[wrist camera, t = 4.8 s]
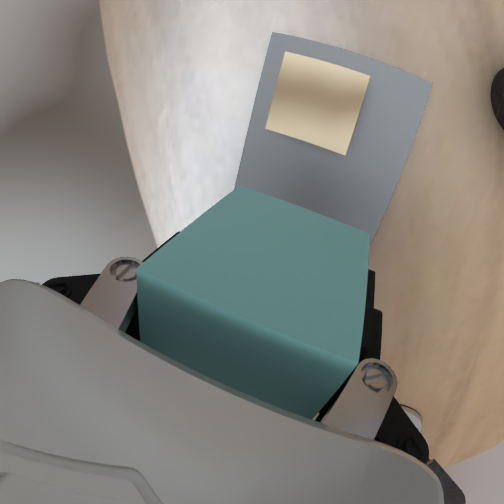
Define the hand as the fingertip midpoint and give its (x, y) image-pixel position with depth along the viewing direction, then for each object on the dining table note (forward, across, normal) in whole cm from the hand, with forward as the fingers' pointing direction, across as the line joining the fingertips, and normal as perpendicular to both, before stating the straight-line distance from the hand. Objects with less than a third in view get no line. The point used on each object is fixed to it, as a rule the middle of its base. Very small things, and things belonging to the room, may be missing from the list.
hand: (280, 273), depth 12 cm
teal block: (+1, 0, 0) cm, 1 cm away
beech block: (+17, +2, -5) cm, 18 cm away
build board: (+18, +1, -1) cm, 18 cm away
